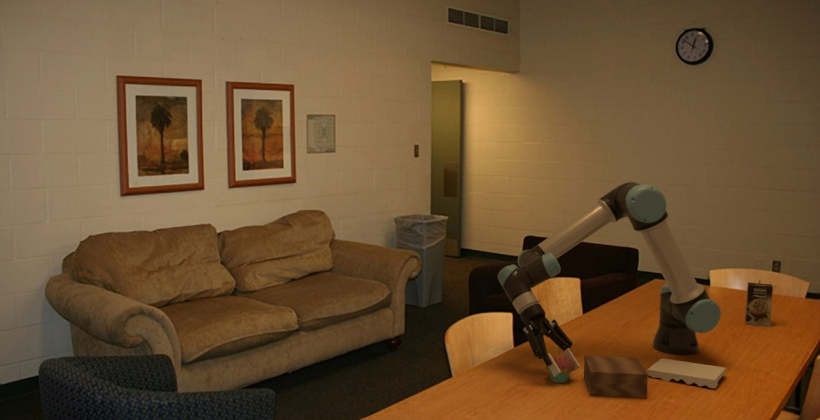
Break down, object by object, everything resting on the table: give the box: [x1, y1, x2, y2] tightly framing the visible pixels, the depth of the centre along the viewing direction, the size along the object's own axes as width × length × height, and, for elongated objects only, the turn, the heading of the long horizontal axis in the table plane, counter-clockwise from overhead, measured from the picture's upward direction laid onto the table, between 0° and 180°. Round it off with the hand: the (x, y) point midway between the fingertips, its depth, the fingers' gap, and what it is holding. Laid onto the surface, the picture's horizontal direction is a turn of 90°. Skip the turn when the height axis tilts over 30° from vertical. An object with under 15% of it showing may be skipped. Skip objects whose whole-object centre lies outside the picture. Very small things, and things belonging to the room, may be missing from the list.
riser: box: [583, 355, 649, 399], centre depth 225 cm, size 16×16×7 cm
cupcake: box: [545, 343, 574, 384], centre depth 230 cm, size 9×8×12 cm
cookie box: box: [744, 282, 774, 327], centre depth 300 cm, size 9×6×16 cm
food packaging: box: [647, 358, 727, 389], centre depth 235 cm, size 15×3×20 cm
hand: (567, 371), depth 228 cm, fingers closed on cupcake, 8 cm apart
